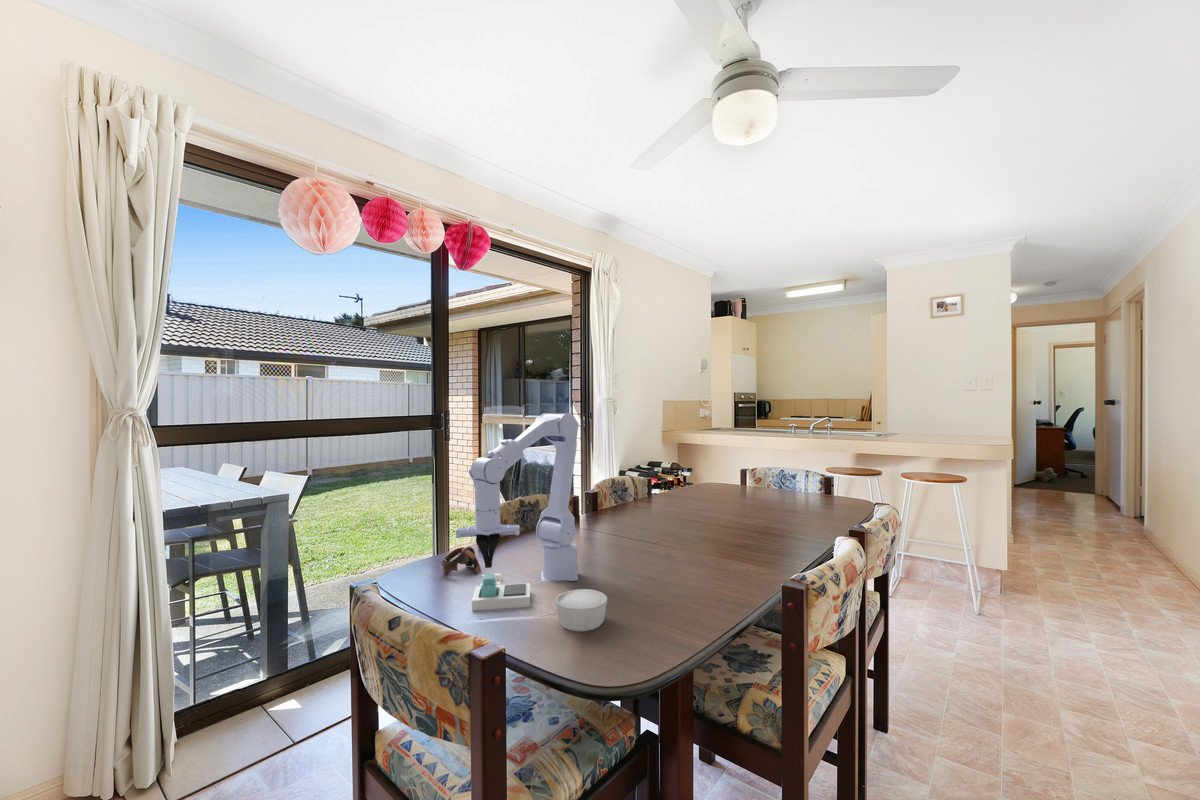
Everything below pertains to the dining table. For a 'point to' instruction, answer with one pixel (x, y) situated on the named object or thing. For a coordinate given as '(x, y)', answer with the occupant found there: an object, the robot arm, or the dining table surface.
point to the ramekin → (581, 609)
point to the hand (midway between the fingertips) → (488, 566)
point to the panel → (503, 597)
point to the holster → (498, 579)
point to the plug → (489, 586)
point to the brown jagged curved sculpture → (461, 559)
